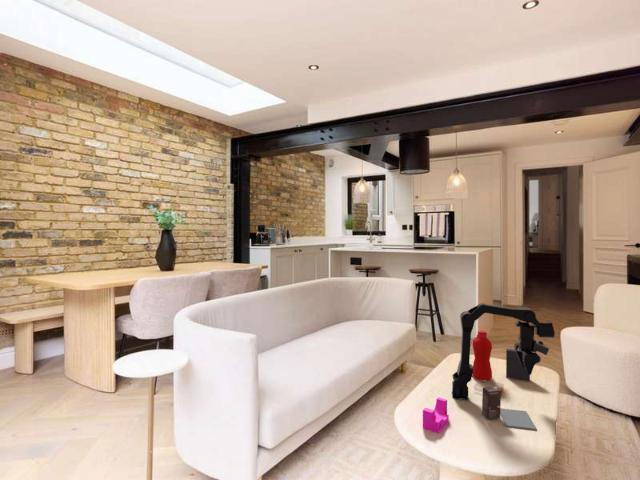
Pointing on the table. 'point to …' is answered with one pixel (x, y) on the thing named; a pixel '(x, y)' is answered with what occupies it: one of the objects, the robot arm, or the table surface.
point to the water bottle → (482, 357)
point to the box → (491, 402)
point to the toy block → (436, 416)
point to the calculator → (515, 366)
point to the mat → (517, 419)
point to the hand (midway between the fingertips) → (526, 370)
